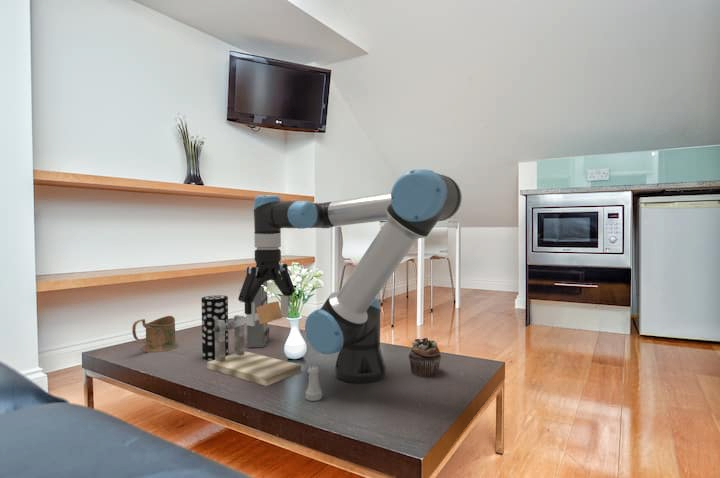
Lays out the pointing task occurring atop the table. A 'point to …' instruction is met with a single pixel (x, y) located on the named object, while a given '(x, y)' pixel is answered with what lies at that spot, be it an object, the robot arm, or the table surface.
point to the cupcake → (424, 358)
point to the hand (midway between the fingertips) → (268, 321)
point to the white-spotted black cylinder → (213, 323)
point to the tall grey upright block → (258, 323)
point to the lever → (259, 315)
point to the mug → (158, 334)
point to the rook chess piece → (313, 384)
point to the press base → (247, 360)
